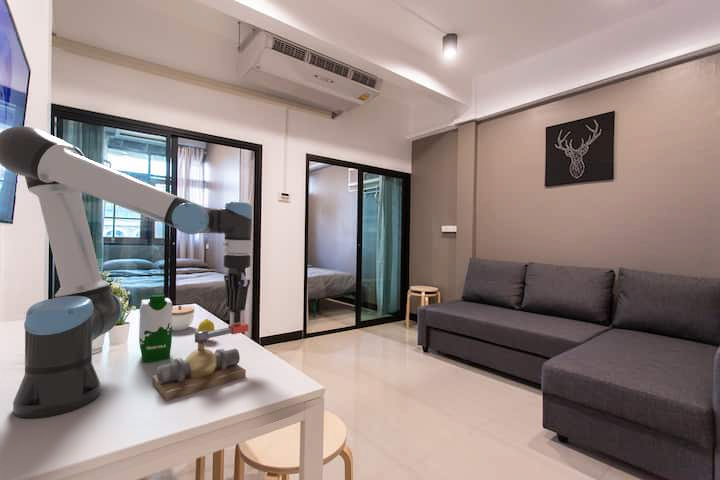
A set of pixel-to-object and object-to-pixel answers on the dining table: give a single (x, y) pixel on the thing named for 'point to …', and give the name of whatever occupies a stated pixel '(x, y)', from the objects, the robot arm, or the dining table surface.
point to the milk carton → (155, 328)
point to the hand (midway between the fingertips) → (234, 332)
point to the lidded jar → (182, 317)
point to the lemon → (206, 325)
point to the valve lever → (220, 332)
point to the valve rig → (198, 372)
